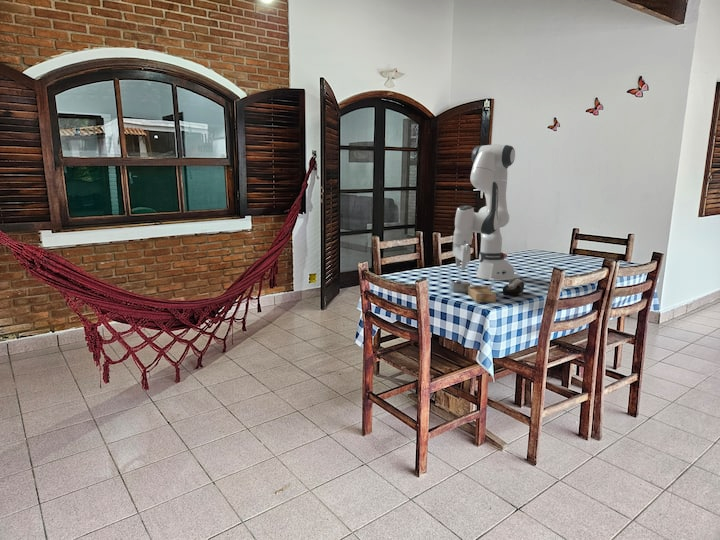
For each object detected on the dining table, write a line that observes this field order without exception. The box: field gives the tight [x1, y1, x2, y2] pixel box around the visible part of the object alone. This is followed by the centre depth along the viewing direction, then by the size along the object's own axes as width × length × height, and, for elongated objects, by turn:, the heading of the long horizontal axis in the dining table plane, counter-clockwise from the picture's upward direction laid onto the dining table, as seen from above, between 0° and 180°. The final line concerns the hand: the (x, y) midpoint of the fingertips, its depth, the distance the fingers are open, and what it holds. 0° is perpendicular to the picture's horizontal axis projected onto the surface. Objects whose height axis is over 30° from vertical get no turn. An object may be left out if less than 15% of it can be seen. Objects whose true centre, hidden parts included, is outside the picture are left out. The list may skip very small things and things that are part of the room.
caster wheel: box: [502, 276, 525, 297], centre depth 238 cm, size 7×11×10 cm
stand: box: [467, 285, 497, 303], centre depth 230 cm, size 9×14×4 cm, turn 3°
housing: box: [450, 280, 471, 293], centre depth 243 cm, size 8×5×5 cm, turn 92°
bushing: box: [483, 284, 493, 292], centre depth 242 cm, size 4×4×3 cm
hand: (460, 268), depth 241 cm, fingers open, 8 cm apart
